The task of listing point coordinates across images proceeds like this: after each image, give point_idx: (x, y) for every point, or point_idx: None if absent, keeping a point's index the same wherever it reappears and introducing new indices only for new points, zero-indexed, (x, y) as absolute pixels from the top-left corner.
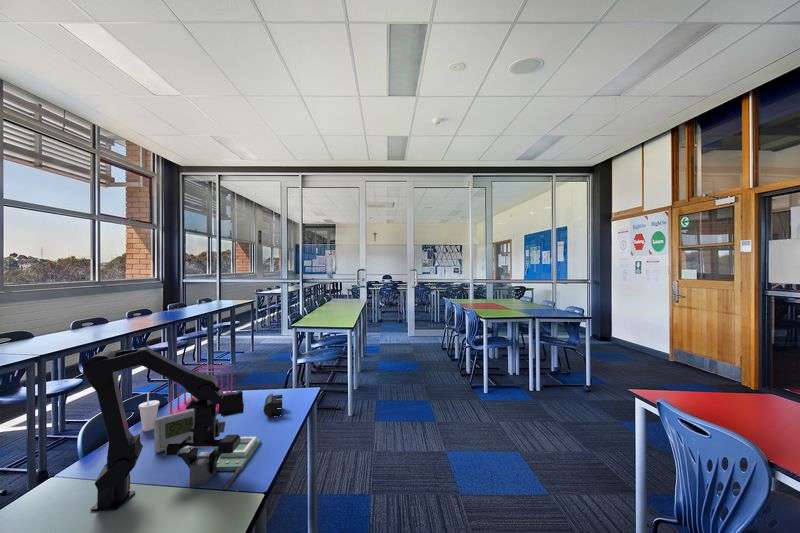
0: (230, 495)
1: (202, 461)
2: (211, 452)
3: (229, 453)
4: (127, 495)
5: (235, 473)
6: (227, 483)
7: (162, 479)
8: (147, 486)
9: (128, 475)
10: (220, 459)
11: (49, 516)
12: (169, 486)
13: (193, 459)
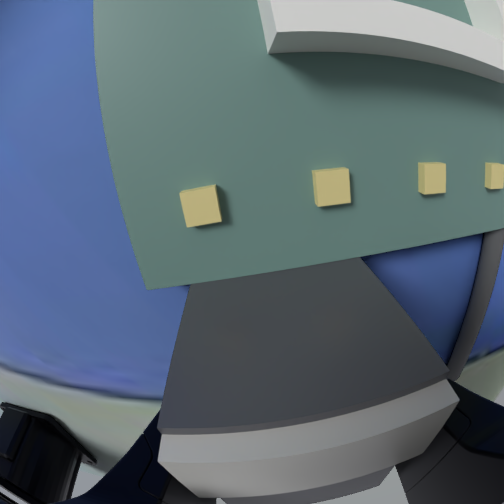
0: (463, 380)
1: (321, 489)
2: (381, 444)
3: (411, 45)
4: (60, 440)
5: (491, 292)
6: (461, 368)
7: (35, 350)
8: (40, 387)
9: (31, 487)
10: (317, 103)
11: None
12: (128, 399)
13: (200, 502)
